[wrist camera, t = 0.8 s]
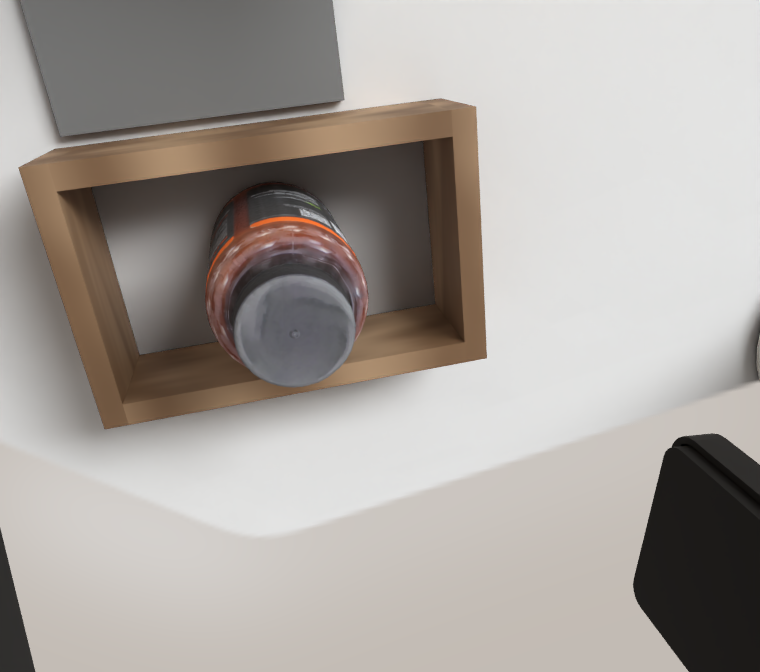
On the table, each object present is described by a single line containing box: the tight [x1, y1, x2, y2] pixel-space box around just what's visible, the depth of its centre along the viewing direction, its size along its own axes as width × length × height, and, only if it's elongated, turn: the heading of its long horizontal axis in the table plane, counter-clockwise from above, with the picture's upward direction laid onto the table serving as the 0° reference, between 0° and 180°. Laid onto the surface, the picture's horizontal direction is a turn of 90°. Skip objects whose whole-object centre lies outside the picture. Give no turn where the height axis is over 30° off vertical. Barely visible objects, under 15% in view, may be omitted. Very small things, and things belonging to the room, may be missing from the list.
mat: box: [20, 0, 344, 137], centre depth 26 cm, size 12×9×1 cm
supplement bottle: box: [205, 183, 368, 387], centre depth 26 cm, size 6×6×11 cm
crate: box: [19, 99, 487, 429], centre depth 29 cm, size 17×11×5 cm, turn 96°
